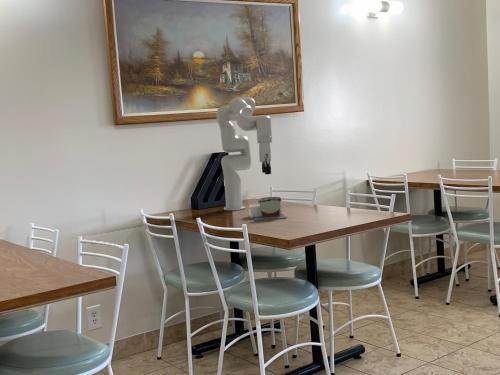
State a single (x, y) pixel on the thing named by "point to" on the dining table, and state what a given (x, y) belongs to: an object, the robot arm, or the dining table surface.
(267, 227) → the dining table surface
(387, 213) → the dining table surface
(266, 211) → the food container
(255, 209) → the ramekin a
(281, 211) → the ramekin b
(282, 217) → the mat
